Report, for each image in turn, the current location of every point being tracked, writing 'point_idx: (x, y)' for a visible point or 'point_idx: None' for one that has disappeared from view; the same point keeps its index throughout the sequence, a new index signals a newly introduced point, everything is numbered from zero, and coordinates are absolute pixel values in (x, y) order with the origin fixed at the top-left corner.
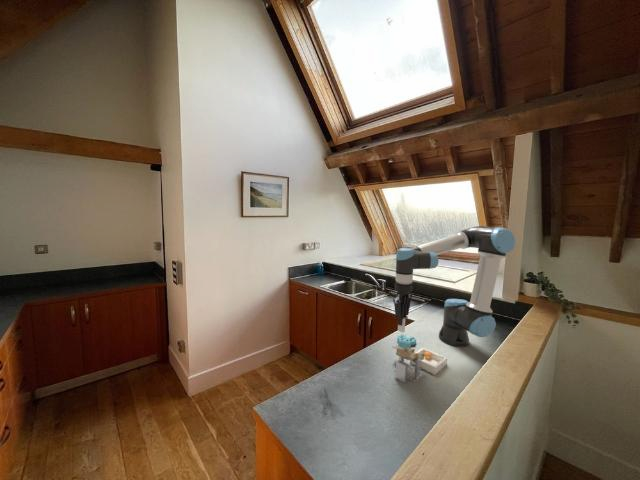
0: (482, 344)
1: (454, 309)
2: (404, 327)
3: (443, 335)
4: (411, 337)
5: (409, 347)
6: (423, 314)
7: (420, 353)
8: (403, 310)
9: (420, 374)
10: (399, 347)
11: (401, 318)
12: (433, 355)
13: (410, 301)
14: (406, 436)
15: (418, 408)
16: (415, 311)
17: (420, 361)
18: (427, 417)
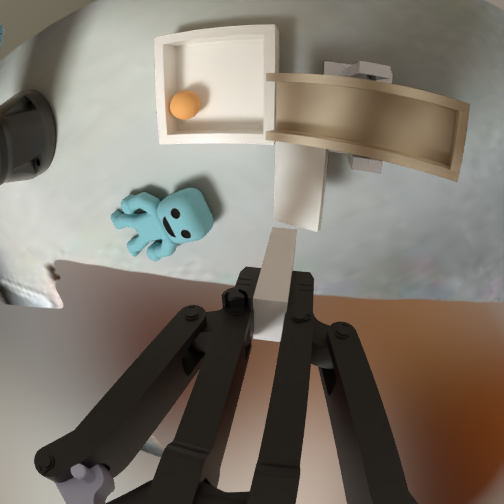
0: (5, 78)
1: None
2: (274, 245)
3: (38, 152)
4: (121, 222)
5: (189, 189)
6: (15, 261)
7: (312, 78)
8: (283, 389)
9: (333, 68)
10: (289, 203)
11: (310, 320)
12: (169, 88)
13: (90, 416)
14: None
15: (487, 39)
16: (23, 281)
17: (358, 61)
18: (494, 15)
